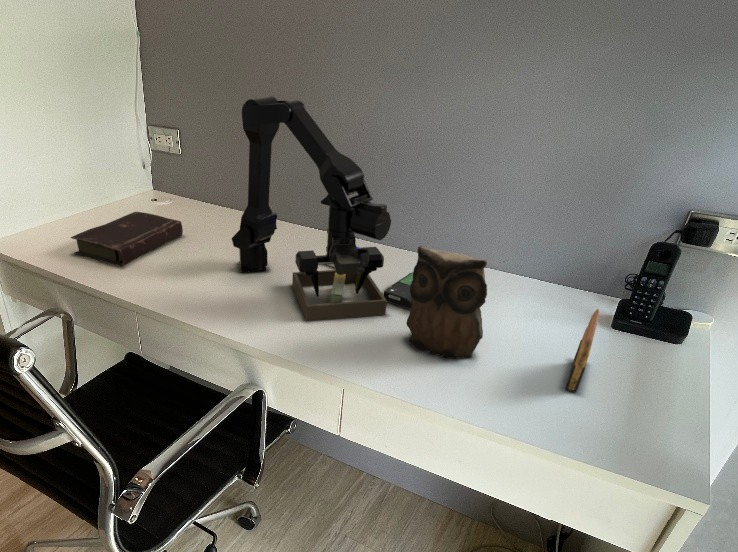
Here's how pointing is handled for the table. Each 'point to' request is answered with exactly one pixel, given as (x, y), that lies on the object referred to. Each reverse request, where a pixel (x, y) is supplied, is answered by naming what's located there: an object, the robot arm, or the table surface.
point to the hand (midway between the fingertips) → (336, 294)
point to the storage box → (344, 308)
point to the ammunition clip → (582, 355)
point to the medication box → (337, 288)
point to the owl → (447, 303)
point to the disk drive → (400, 292)
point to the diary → (127, 238)
